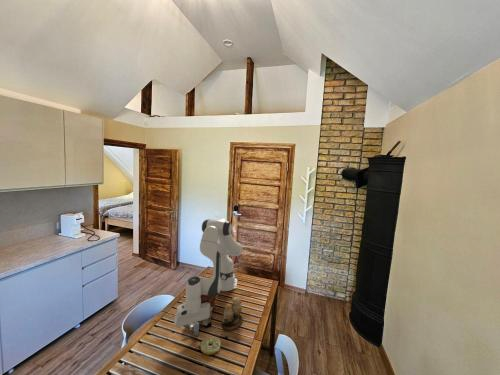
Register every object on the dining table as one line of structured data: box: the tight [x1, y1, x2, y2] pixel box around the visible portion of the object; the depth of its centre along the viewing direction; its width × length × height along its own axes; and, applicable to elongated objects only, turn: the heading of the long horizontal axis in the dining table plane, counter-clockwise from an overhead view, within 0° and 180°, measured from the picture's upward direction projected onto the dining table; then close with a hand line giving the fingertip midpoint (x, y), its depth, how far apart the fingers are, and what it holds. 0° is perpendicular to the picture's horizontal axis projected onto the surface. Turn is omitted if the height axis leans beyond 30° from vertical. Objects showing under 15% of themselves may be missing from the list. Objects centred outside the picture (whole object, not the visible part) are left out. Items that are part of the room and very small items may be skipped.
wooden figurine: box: [201, 294, 217, 312], centre depth 153 cm, size 12×6×18 cm, turn 147°
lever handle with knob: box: [191, 322, 200, 337], centre depth 134 cm, size 12×3×7 cm, turn 44°
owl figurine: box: [220, 296, 244, 333], centre depth 143 cm, size 18×12×17 cm, turn 150°
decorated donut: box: [200, 336, 221, 356], centre depth 122 cm, size 10×11×4 cm
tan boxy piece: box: [184, 307, 214, 329], centre depth 142 cm, size 14×13×7 cm
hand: (192, 328), depth 129 cm, fingers closed
